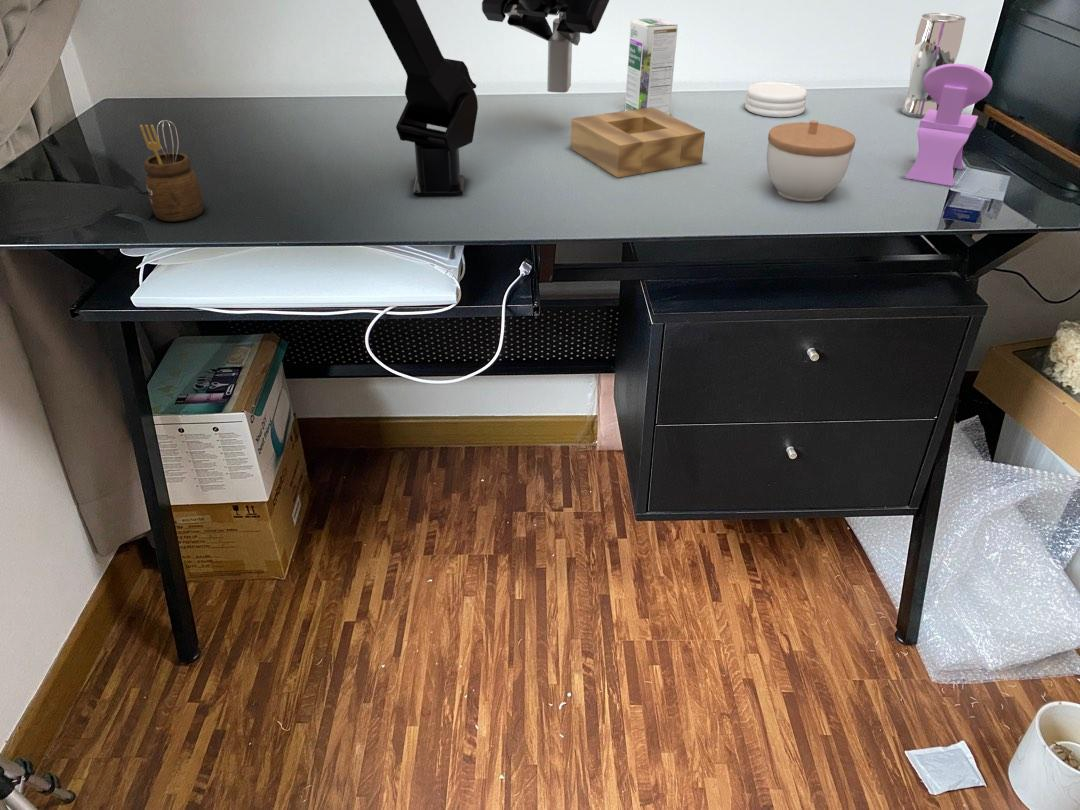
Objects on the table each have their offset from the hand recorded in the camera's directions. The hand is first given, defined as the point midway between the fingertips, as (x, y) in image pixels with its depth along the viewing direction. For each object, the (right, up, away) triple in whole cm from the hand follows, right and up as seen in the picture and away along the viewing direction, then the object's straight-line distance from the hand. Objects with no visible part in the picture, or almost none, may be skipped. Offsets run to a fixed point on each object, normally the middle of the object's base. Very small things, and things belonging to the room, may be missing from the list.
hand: (564, 40), depth 129 cm
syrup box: (+14, -6, +14) cm, 21 cm away
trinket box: (+31, -27, -15) cm, 44 cm away
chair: (+52, -22, -9) cm, 57 cm away
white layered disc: (+36, -5, +17) cm, 40 cm away
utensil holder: (-49, -31, -22) cm, 62 cm away
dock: (+10, -18, -3) cm, 21 cm away
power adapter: (-1, -6, +3) cm, 7 cm away
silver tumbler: (+60, -6, +15) cm, 62 cm away
